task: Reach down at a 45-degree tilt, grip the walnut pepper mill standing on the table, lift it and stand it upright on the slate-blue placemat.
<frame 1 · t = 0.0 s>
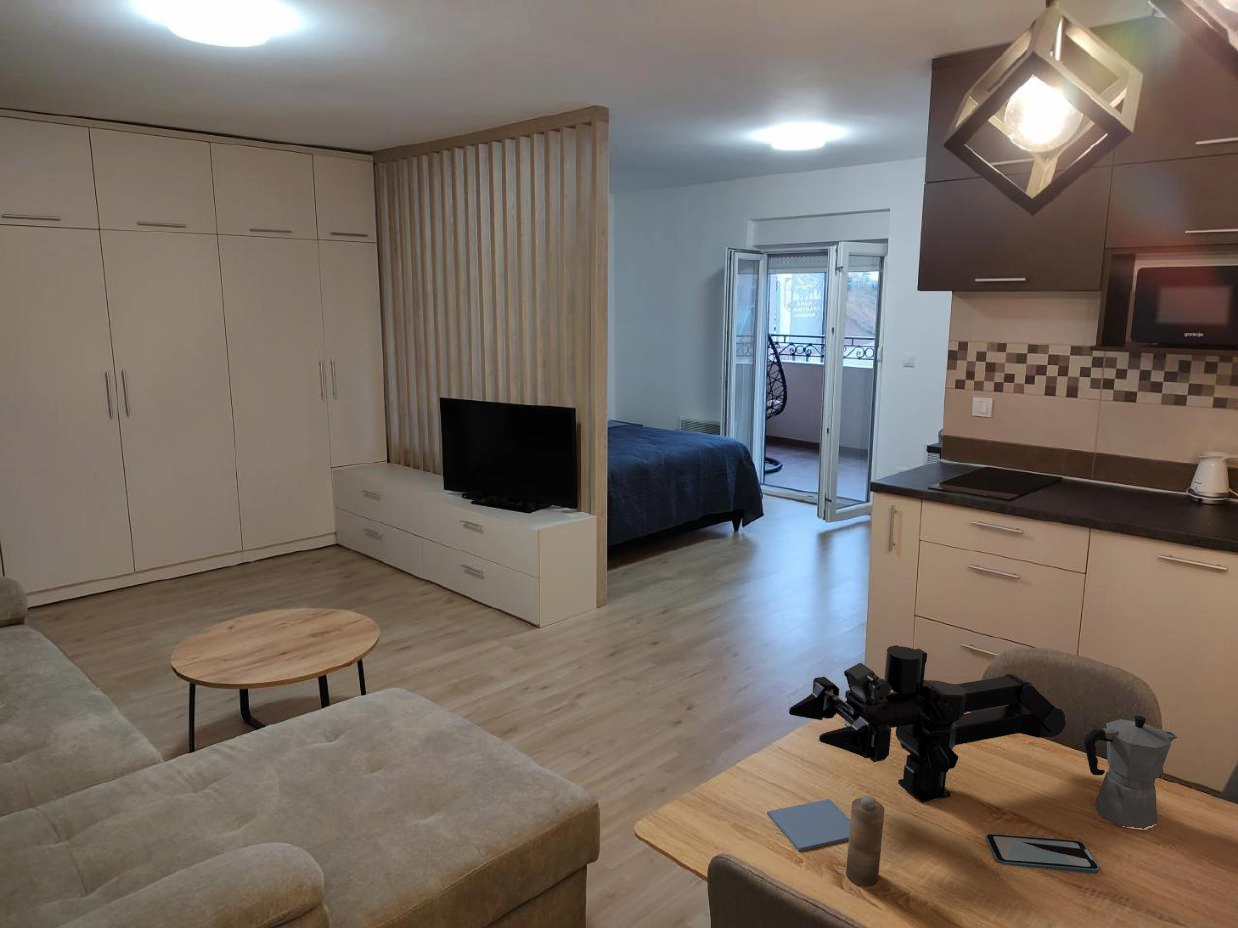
hand: (804, 724, 138), 17 cm above the table, tool horizontal, fingers open, 9 cm apart
coffeepot: (1118, 815, 143), on the table
smartphone: (1040, 856, 133), on the table
pepper mill: (861, 876, 127), on the table
placemat: (814, 824, 139), on the table
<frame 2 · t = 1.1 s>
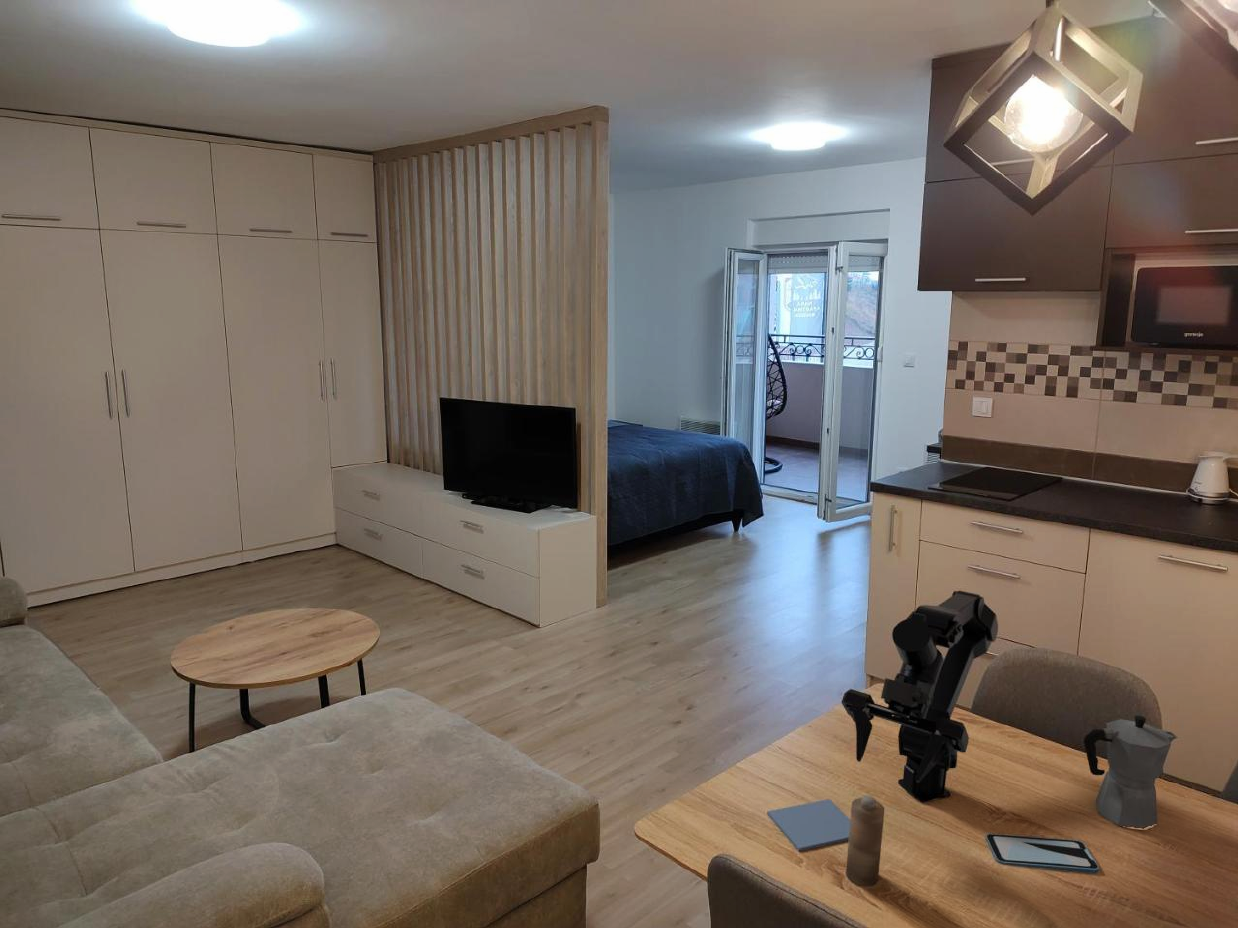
hand: (887, 770, 130), 14 cm above the table, tool tilted 45°, fingers open, 9 cm apart
nothing on the table moved.
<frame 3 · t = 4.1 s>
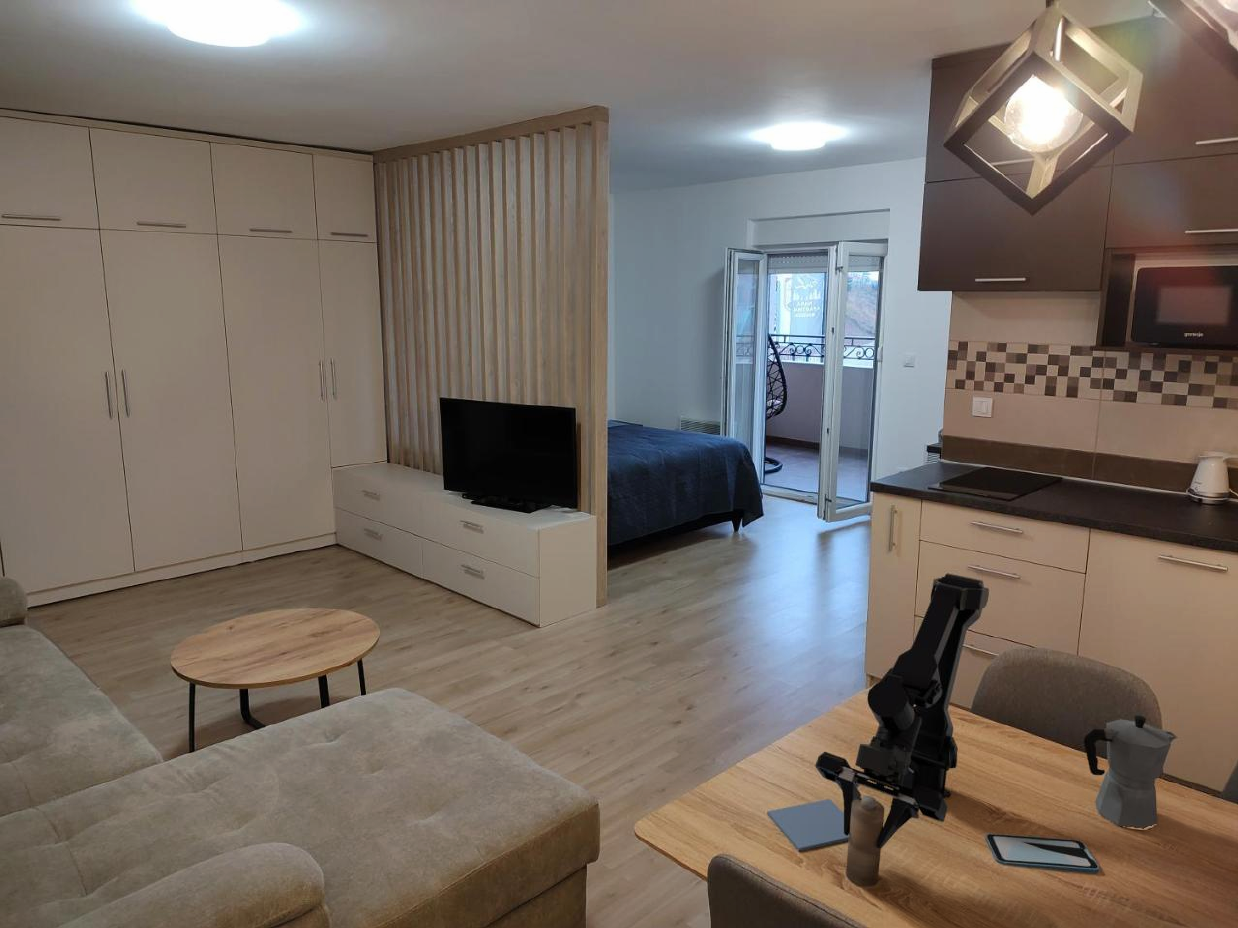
hand: (861, 841, 124), 7 cm above the table, tool tilted 45°, fingers closed on pepper mill, 5 cm apart
pepper mill: (861, 876, 127), on the table, touching gripper
everything else where it was.
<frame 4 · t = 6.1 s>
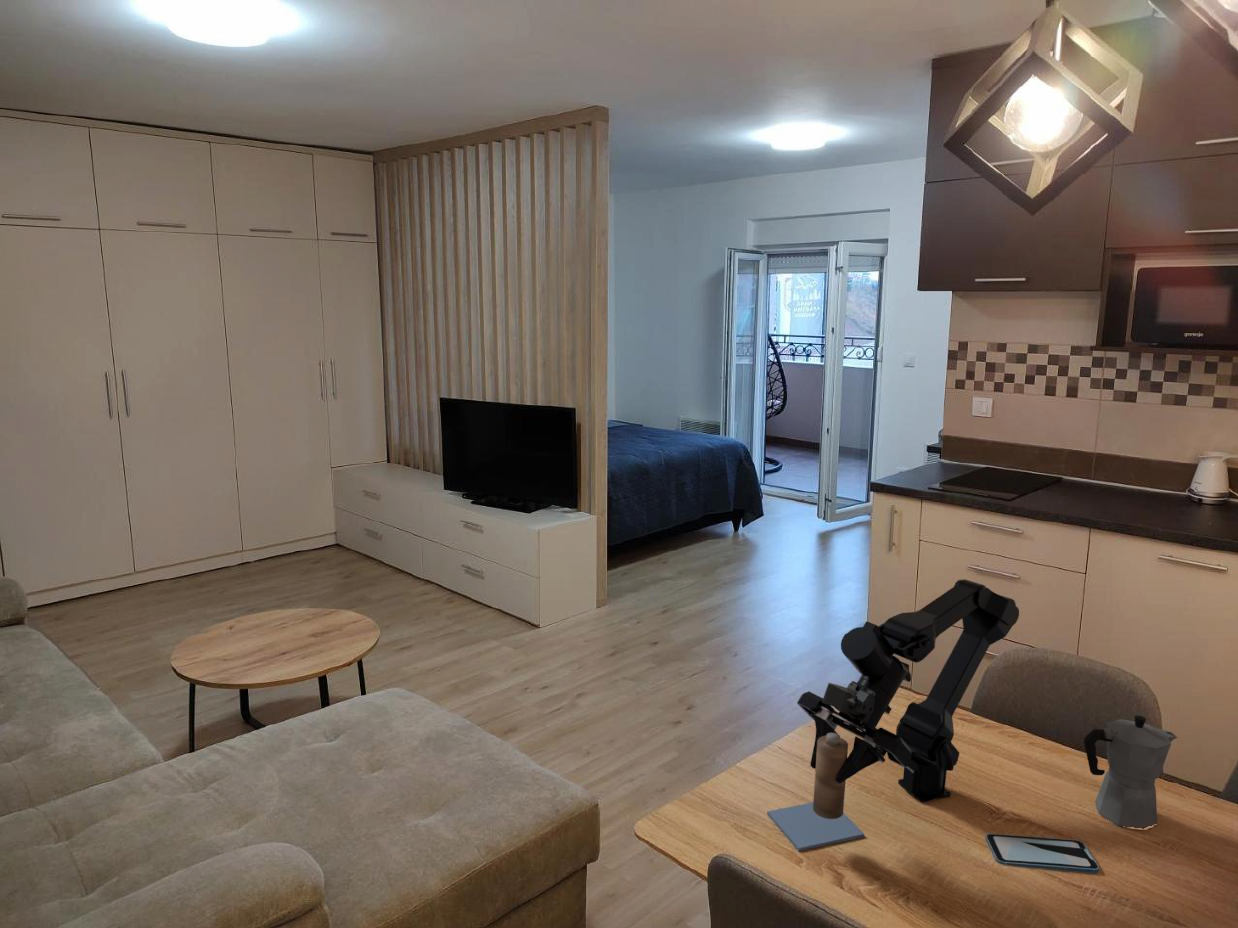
hand: (824, 774, 131), 12 cm above the table, tool tilted 45°, fingers closed on pepper mill, 5 cm apart
pepper mill: (828, 809, 133), point 6 cm above the table, touching gripper
everything else where it was.
when the fingers open (8 cm above the table, at t = 7.9 s): pepper mill drops 1 cm, resting on placemat.
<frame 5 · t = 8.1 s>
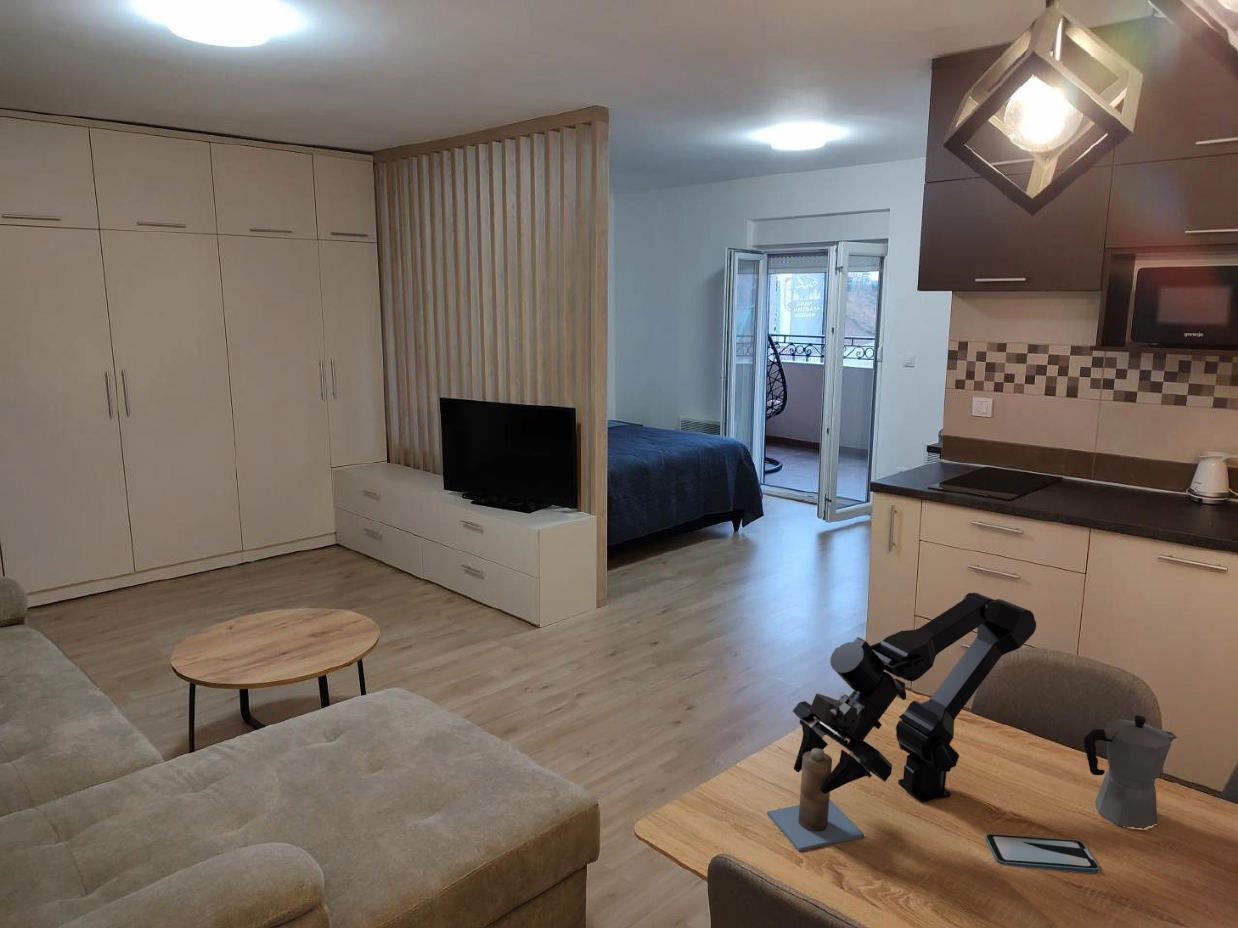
hand: (808, 781, 136), 8 cm above the table, tool tilted 45°, fingers open, 6 cm apart
pepper mill: (812, 822, 138), point 1 cm above the table, touching placemat
everything else where it was.
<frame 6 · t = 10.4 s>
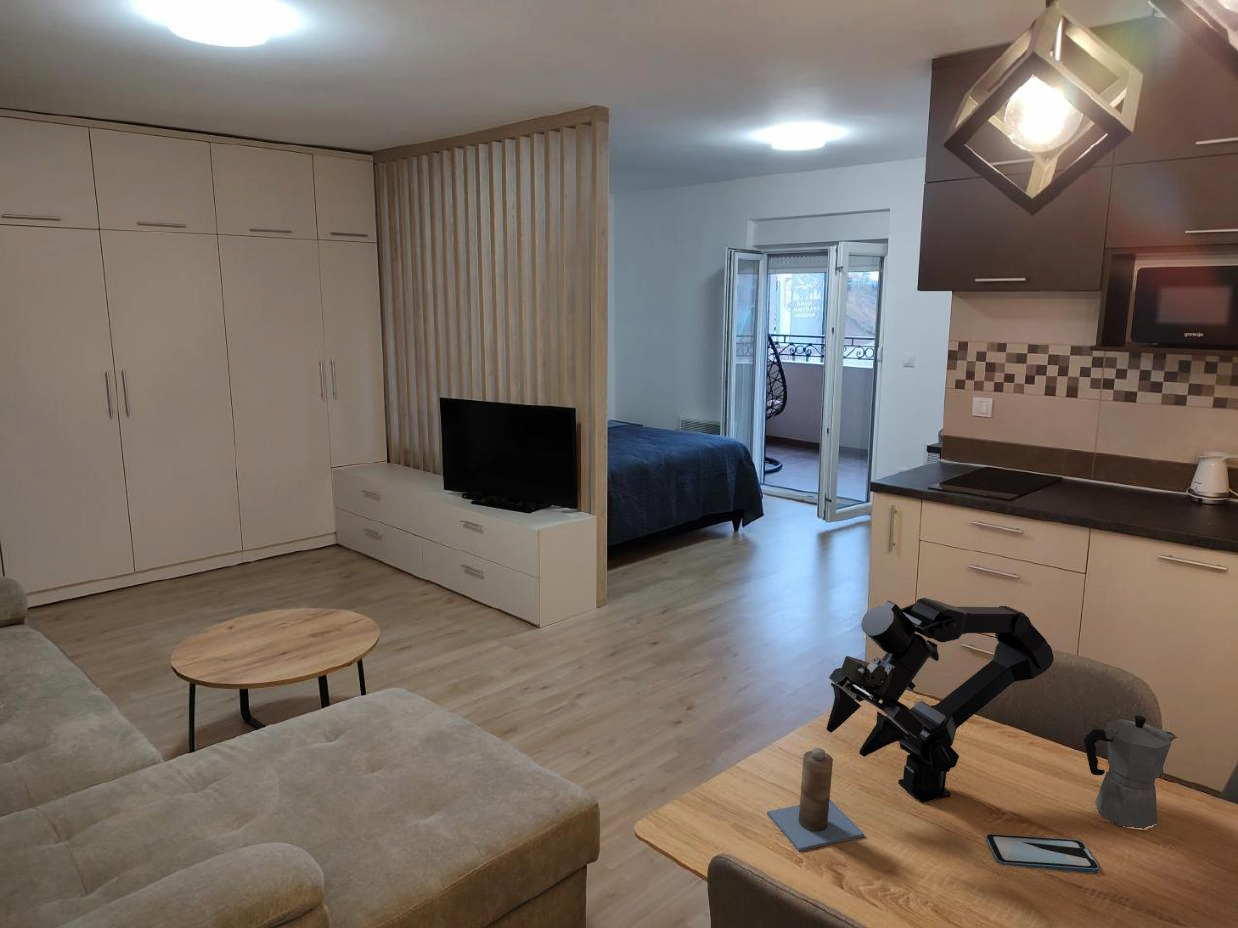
hand: (844, 742, 139), 13 cm above the table, tool tilted 40°, fingers open, 9 cm apart
nothing on the table moved.
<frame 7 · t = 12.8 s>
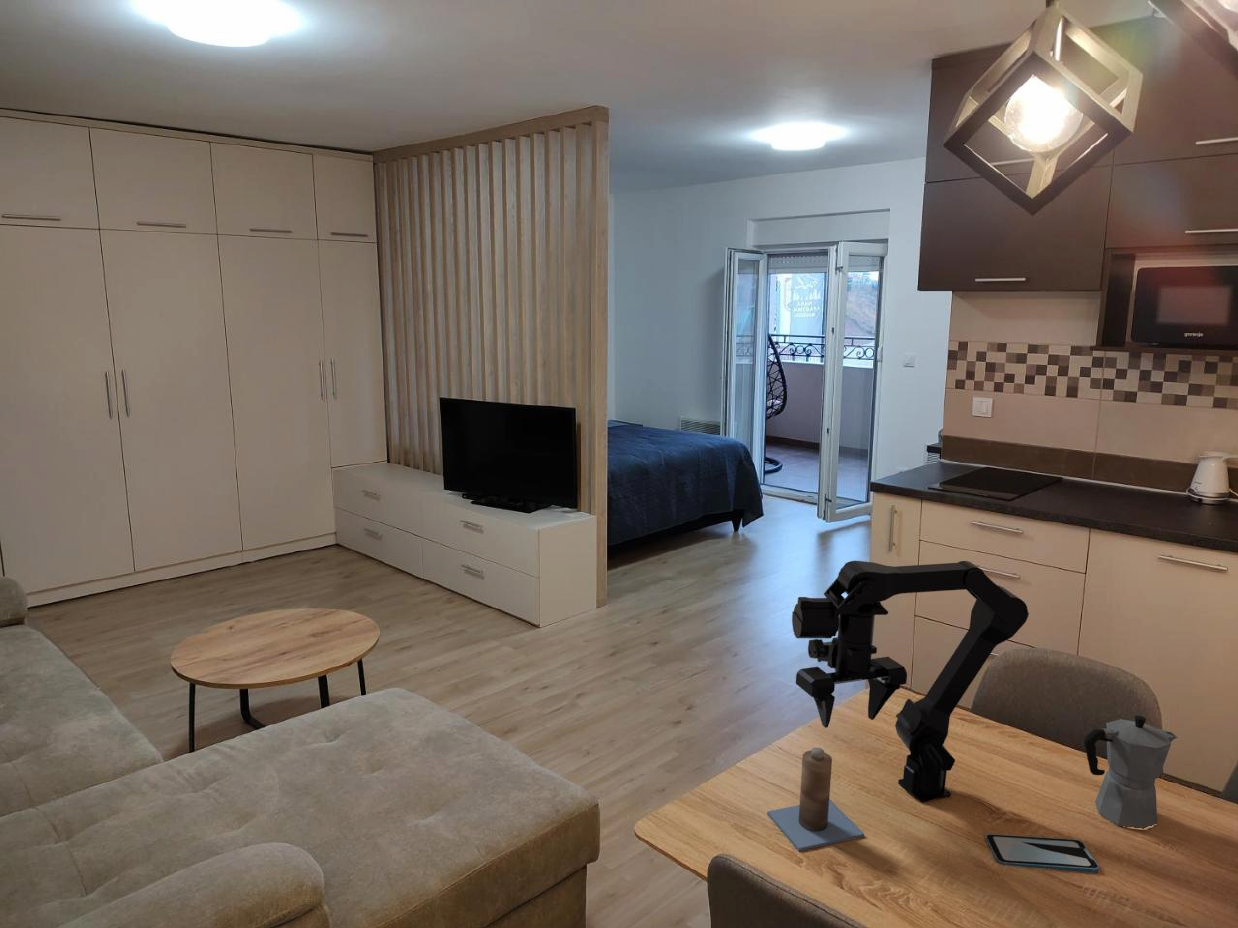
hand: (848, 722, 146), 13 cm above the table, tool pointing down, fingers open, 9 cm apart
nothing on the table moved.
at the end: pepper mill inside the target area on the placemat (0.4 cm from its centre), point 0.5 cm above the placemat's base; pepper mill tilted 1°; pepper mill touching placemat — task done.
